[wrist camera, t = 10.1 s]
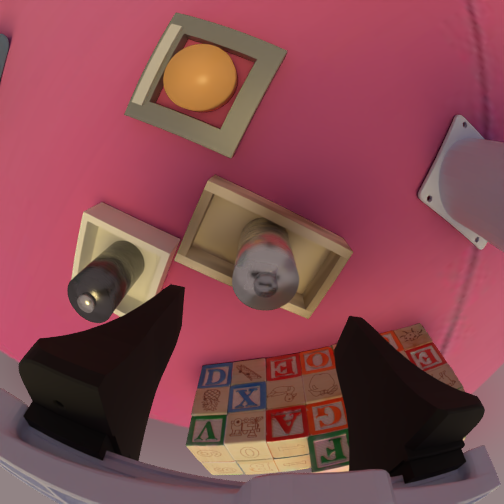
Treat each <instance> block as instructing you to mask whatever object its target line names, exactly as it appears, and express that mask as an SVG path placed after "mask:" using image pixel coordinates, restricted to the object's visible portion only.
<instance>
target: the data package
mask: <svg viewBox="0 0 504 504" xmlns="http://www.w3.org/2000/svg"><path fill="white" fill-rule="evenodd" d="M8 49H9V41H8V38H7V37H6V36H5V35H3V34H0V80H1V76H2V72H3V68H4V64H5V60H6V57H7V53H8Z"/></svg>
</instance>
